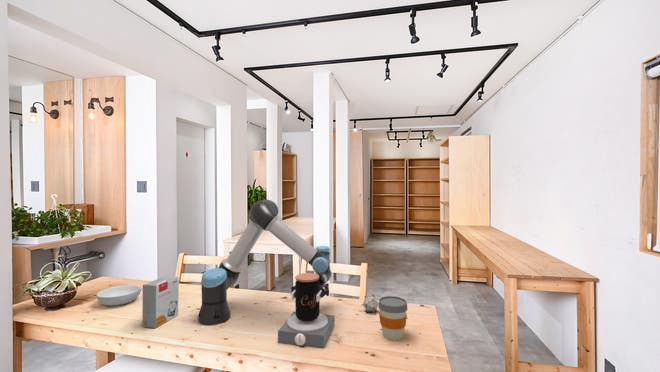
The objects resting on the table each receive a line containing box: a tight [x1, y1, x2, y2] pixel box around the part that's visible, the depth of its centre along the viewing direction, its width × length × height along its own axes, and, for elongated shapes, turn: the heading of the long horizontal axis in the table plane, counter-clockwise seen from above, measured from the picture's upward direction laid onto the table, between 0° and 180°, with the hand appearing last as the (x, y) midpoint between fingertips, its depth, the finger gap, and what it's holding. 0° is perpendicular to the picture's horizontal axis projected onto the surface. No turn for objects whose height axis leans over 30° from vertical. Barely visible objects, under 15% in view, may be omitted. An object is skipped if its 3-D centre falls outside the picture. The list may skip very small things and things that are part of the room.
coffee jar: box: [294, 272, 321, 321], centre depth 137 cm, size 11×11×18 cm
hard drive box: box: [141, 275, 180, 329], centre depth 151 cm, size 16×8×20 cm, turn 166°
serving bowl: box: [96, 284, 142, 306], centre depth 175 cm, size 21×21×7 cm
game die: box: [361, 294, 379, 314], centre depth 161 cm, size 9×8×10 cm
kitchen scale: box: [277, 311, 335, 349], centre depth 137 cm, size 20×21×6 cm
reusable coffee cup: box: [377, 295, 408, 341], centre depth 136 cm, size 13×12×15 cm
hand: (304, 297), depth 133 cm, fingers closed on coffee jar, 11 cm apart
